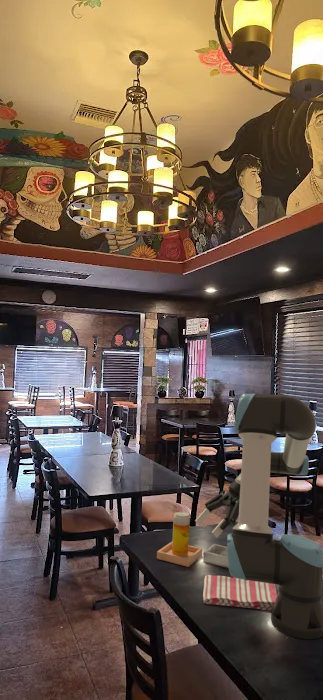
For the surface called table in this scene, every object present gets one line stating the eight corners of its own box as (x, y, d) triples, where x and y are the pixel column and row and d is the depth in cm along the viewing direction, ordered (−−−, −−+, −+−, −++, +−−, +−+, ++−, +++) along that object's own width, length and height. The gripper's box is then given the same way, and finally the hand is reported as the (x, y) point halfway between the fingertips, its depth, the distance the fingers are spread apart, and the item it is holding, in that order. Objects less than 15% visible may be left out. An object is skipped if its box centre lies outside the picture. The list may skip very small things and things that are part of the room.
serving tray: (188, 566, 169) (188, 559, 169) (156, 558, 175) (157, 551, 175) (201, 555, 180) (202, 548, 180) (171, 547, 186) (172, 541, 186)
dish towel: (282, 614, 141) (282, 602, 141) (202, 605, 143) (203, 593, 143) (274, 587, 158) (274, 577, 158) (203, 580, 160) (203, 570, 160)
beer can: (188, 558, 175) (190, 516, 175) (171, 557, 175) (173, 515, 175) (187, 552, 181) (189, 511, 181) (171, 551, 181) (173, 510, 181)
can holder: (229, 568, 170) (229, 558, 170) (203, 561, 174) (203, 552, 175) (238, 559, 179) (238, 549, 179) (213, 552, 183) (213, 543, 183)
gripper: (265, 502, 177) (227, 547, 171) (231, 485, 200) (196, 524, 194) (253, 488, 175) (215, 533, 169) (220, 473, 199) (185, 512, 192)
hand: (205, 529), depth 182 cm, fingers open, 13 cm apart
